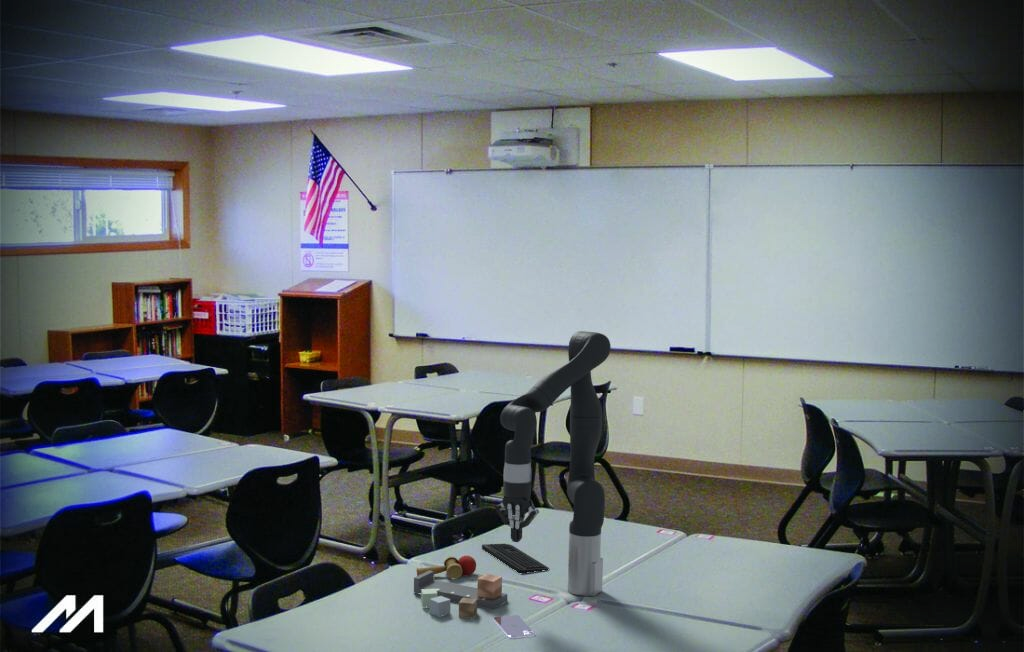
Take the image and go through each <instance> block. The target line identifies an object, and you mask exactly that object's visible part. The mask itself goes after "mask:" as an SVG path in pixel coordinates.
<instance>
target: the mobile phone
mask: <svg viewBox="0 0 1024 652" xmlns="http://www.w3.org/2000/svg"><path fill="white" fill-rule="evenodd" d="M492 621H493V622H494V623H495V625H497V627H498V626H499V627H498V628H499V629H500V630H501V632H502V633H503V632H504V633H503V634H504V635H505V637H506V638H508V639H509V638H510V640H515V639H514V638H517V639H522V638H521V637H527V636H533V635H536V636H537V634H536V632H535V631H534V630H533V629H532V628H531V627H530V626H529V625H528V624H527V623H526V621H525V620H524V619H523V618H522V617H521V616H520V615H518V614H517V615H515V614H514V615H504V616H494V617H493V618H492ZM527 638H528V637H527Z"/></svg>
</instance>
